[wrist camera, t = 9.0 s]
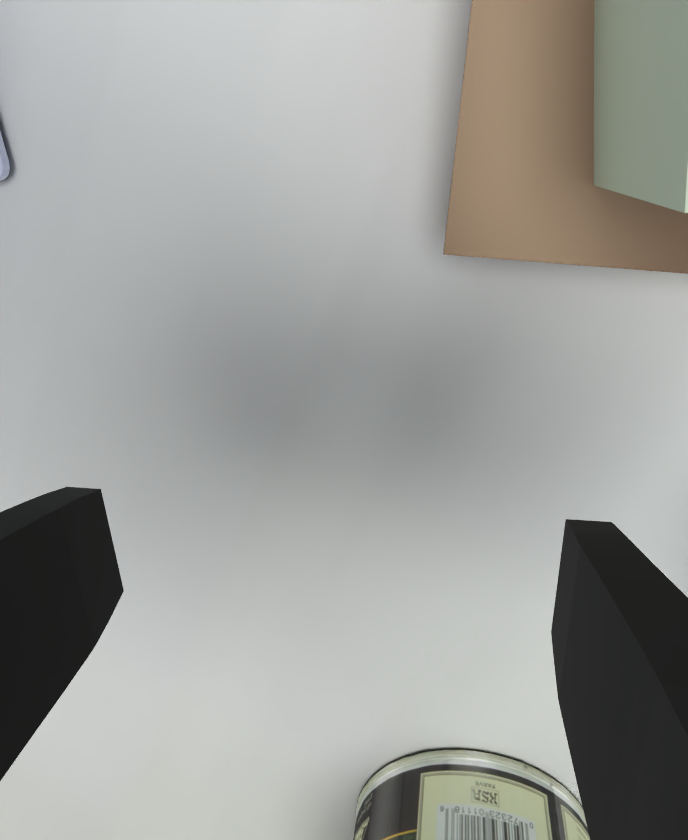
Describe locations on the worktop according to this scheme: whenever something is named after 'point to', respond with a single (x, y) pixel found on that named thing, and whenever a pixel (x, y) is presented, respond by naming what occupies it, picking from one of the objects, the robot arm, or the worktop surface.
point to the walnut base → (543, 150)
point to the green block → (642, 100)
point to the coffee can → (466, 801)
